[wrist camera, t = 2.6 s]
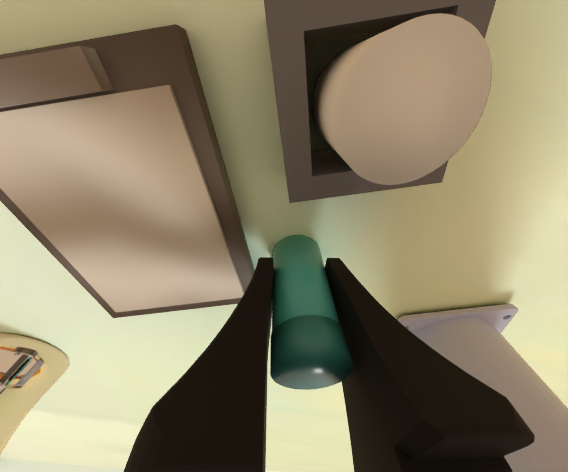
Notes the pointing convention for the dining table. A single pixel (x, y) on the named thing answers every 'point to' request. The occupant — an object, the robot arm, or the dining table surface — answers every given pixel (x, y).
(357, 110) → the button cap
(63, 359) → the beer glass
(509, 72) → the dining table surface
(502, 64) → the dining table surface
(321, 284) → the marker
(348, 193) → the button box
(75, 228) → the grey flat tray
